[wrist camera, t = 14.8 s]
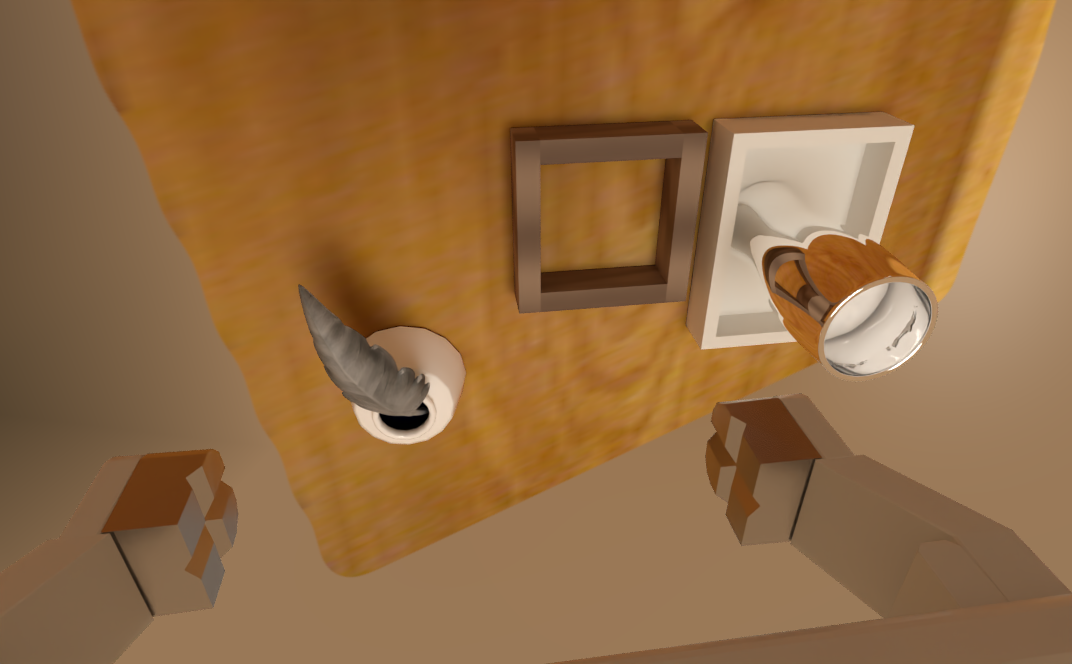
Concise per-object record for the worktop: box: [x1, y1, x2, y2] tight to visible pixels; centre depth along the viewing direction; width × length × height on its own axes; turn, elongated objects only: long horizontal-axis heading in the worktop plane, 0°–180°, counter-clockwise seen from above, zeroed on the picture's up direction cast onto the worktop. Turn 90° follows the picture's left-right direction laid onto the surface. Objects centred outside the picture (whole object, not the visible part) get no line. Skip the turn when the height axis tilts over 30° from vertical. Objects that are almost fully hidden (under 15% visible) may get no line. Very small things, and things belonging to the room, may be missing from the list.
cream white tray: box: [686, 112, 915, 349], centre depth 47 cm, size 16×12×4 cm
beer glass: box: [730, 181, 938, 381], centre depth 41 cm, size 7×7×15 cm
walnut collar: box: [510, 120, 708, 314], centre depth 45 cm, size 12×12×3 cm
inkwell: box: [298, 285, 466, 444], centre depth 45 cm, size 9×18×10 cm, turn 22°
